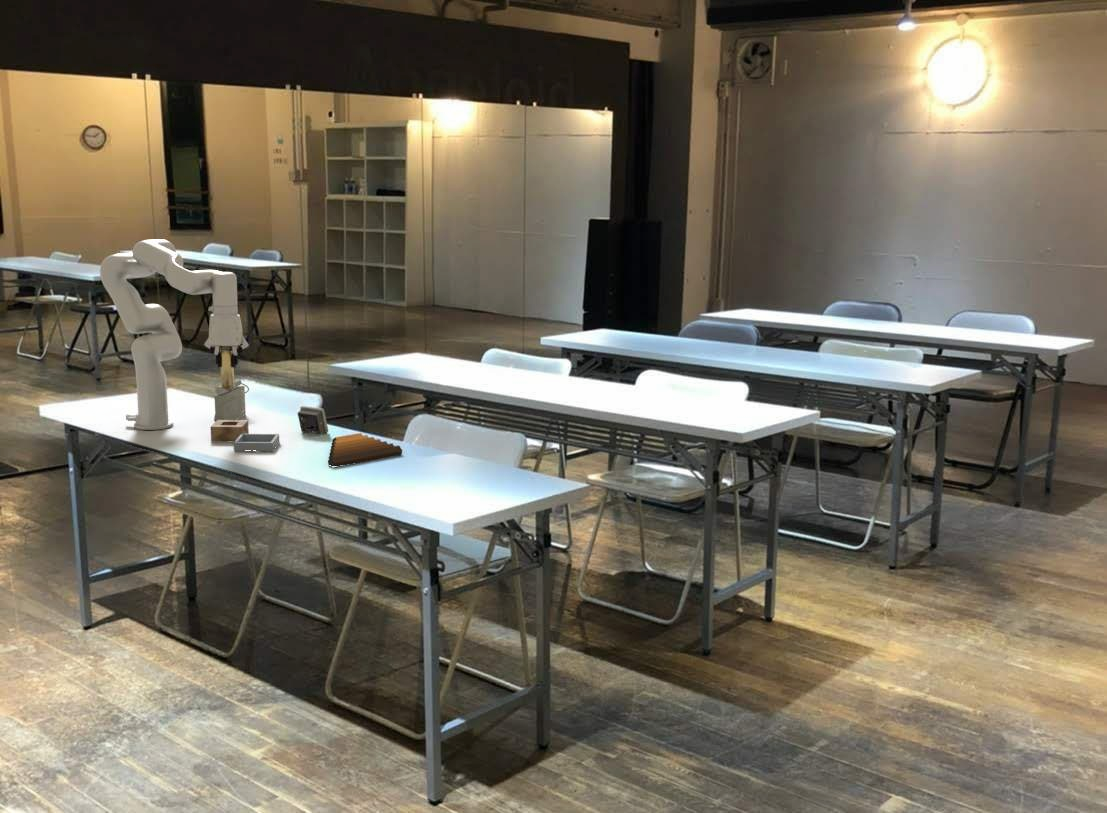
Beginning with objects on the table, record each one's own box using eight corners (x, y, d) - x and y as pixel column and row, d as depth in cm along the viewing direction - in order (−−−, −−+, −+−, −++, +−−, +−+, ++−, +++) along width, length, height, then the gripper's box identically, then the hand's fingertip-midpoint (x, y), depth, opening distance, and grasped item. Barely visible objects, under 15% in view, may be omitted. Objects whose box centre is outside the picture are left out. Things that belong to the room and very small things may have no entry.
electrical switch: (329, 433, 353) (327, 407, 350) (320, 437, 348) (318, 411, 345) (306, 430, 356) (304, 404, 354) (297, 434, 352) (294, 408, 349)
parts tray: (233, 451, 325) (233, 442, 324) (241, 442, 336) (241, 433, 336) (272, 452, 326) (272, 442, 325) (279, 442, 337) (279, 433, 337)
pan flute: (334, 469, 310) (402, 456, 327) (334, 458, 309) (402, 446, 326) (291, 453, 327) (358, 441, 344) (291, 443, 326) (358, 432, 344)
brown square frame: (211, 441, 336) (210, 426, 335) (218, 434, 346) (217, 419, 345) (242, 441, 337) (242, 426, 336) (248, 434, 347) (248, 420, 346)
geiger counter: (233, 376, 374) (204, 389, 350) (250, 377, 374) (222, 390, 350) (235, 414, 377) (206, 429, 353) (252, 414, 377) (224, 430, 352)
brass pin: (220, 389, 336) (218, 346, 333) (222, 386, 340) (221, 344, 337) (232, 389, 337) (231, 346, 334) (235, 387, 340) (234, 345, 338)
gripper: (195, 311, 329) (198, 368, 332) (249, 312, 330) (251, 369, 334) (201, 308, 336) (203, 364, 340) (254, 310, 338) (255, 365, 341)
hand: (227, 366), depth 337 cm, fingers closed on brass pin, 4 cm apart
